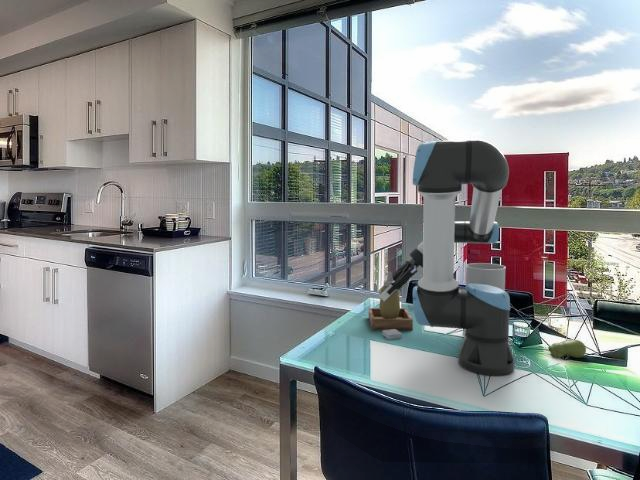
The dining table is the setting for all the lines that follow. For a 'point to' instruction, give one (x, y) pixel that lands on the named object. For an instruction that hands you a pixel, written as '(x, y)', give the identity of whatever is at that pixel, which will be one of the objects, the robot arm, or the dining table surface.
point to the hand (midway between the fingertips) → (380, 296)
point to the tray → (390, 320)
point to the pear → (568, 349)
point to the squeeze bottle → (390, 301)
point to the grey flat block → (392, 334)
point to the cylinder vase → (486, 274)
